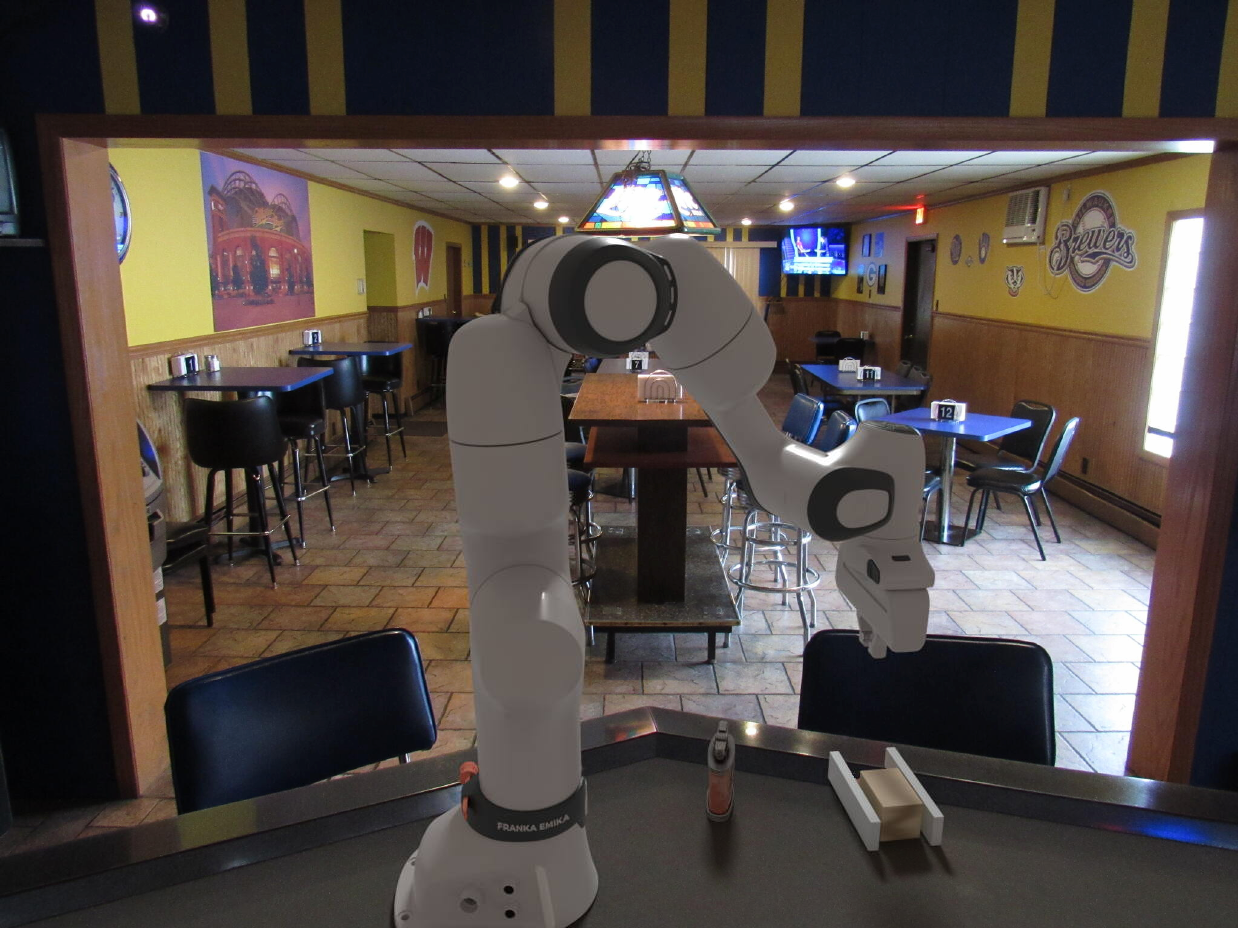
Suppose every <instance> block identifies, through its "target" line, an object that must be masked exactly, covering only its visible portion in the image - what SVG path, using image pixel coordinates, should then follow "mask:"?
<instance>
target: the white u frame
mask: <svg viewBox="0 0 1238 928" xmlns="http://www.w3.org/2000/svg"><path fill="white" fill-rule="evenodd" d="M884 754H885V755H884V765H883V767H884V766H885V768H886V769H889V768H898V769H899V771H900V772H901V773H902V775H903V776H904V777H905V779H906V780H907V782H908V783H909V784H910V786H911V787H912V789H913V790H914V791H915V793H916V794H917V796H918V797H919V798H920V800H921V801H922V803H923V810H922V820H921V829H920V832H921V833H922V834H923V836H924V837H925V839H926V840H927V841H928V844H929V845H930V847H934V846H941V844H942V838H943V837H942V836H943V828H944V819H945V815H943V813H942V812H941V810H940V809H939V807H938V806H937V805H936V804H935V802H934V800H933V799H932V798H931V796H930V795H929V793H928V792H927V791H926V789H925V788H924V787H923V785H922V783H921V782H920V781H919V779H918V778H917V777H916V775H915V774H914V772H913V771H912V769H911V768H910V767H909V765H908V764H907V763H906V761H905V760H904V759H903V756H901V754H900V752H899V751H898V749H897V748H896V747H895V746H893V747H886V748H885V753H884ZM852 774H853V773H852V771H851V770H850V768H849V767H848V764H847V762H845V759H844V758H843V756H842V755H841V753H840V751H839V750H837V751H835V750H834V751H829V759H828V772H827V778H828V780H829V782H830V784H831V785H832V787H833V789H834V791H835V793H836V795H837V796H838V798H839V800H840V802H841V804H842V806H843V807H844V809H845V812H846V814H847V815H848V816H849V819H850V820H851V822H852V824H853V826H854V828H855V829H856V831H857V833H858V834H859V837H860V839H861V840H862V842H863V844H864V845H865V847H866V849H867V851H868V852H873V851H879V844H880V840H879V835H880V824H881V821H880V820H879V818H878V816H877V815H876V813H875V811H874V810H873V808H872V806H871V805H870V803H869V801H868V800H867V798H866V796H865V795H864V793H863V791H862V790H861V788H860V786H859V785H858V783H857V781H856V780H855V778H854V776H853V775H852Z"/></svg>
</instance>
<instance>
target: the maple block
mask: <svg viewBox="0 0 1238 928" xmlns="http://www.w3.org/2000/svg"><path fill="white" fill-rule="evenodd" d="M859 773H860V778H859V786H860V788H861V790H862V791H863V793H864V795H865V796H866V798H867V800H868V801H869V803H870V805H871V806H872V808H873V810H874V811H875V813H876V815H877V816H878V818H879V820H880V821H881V824H880V835H879V843H880V842H889V841H900V840H910V839H911V840H912V839H920V838H921V830H920V829H921V820H922V810H923V803H922V801H921V800H920V798H919V797H918V796H917V794H916V793H915V791H914V790H913V789H912V787H911V786H910V784H909V783H908V782H907V780H906V779H905V777H904V776H903V775H902V773H901V772H900V771H899V769H898V768H889V769H884V768H880V769H869V770H860V771H859Z"/></svg>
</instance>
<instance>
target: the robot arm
mask: <svg viewBox="0 0 1238 928" xmlns="http://www.w3.org/2000/svg"><path fill="white" fill-rule="evenodd" d="M715 256H716V255H714V254H713V253H712V252H711V251H710V250H709V249H708V248H706V246H705V245H703V243H701V242H700V241H699V240H697V239H696V238H695V237H693V236H691V235H689V234H686V233H681V232H679V233H678V232H674V233H667V234H664V235H660V236H658V237H656V238H653V239H651V240H650V241H648V242H647V243H645V244H644V245H643V246H641V247H640V246H638V245H635V244H633V243H631V242H629V241H627V240H623V239H620V238H615V237H608V236H601V237H598V236H594V235H591V234H586V233H580V232H577V233H573V232H572V233H564V234H563V233H562V234H558V235H547V236H542V237H539V238H536V239H534V240H531V241H530V242H527V243H526V244H525V245H523V246H522V247H521V248H519V250H518V251H516V253H515V254H513V256H512V257H511V259H510V260H509V262H508V264H507V266H506V268H505V270H504V273H503V277H502V279H501V283H500V285H499V288H498V291H497V292H496V295H495V297H494V299H493V302H492V304H491V307H490V314H488V315H487V314H486V315H482V316H480V317H477V318H474V319H471V321H469V322H467V323H465V324H463V325H462V326H460V328H458V329H457V330H456V332H454V334H453V335H452V337H451V339H450V342H449V346H448V352H447V363H446V382H445V404H446V405H445V406H446V409H445V410H446V422H447V434H448V435H447V436H448V445H449V452H450V453H449V454H450V461H451V469H452V478H453V479H452V480H453V486H454V495H455V505H456V513H457V514H456V515H457V519H458V525H459V532H460V538H461V544H462V551H463V559H464V566H465V573H466V574H465V575H466V580H467V581H466V583H467V591H468V611H469V613H468V615H469V650H470V664H471V666H470V667H471V680H472V690H473V691H472V692H473V702H474V703H473V705H474V717H475V730H476V731H475V733H476V747H477V764H476V762H474V761H466V762H463V763H462V765H461V766H460V768H459V773H460V774H459V777H458V779H459V782H460V784H461V785H462V786H461V789H460V790H461V791H460V803H458V804H457V805H456V806H454V807H452V808H451V809H449V810H447V811H446V812H445V813H443V814H441V815H440V816H438V817H436V818H435V819H433V821H432V822H431V823H430V824H429V825H428V827H427V828H426V830H425V832H424V834H423V836H422V838H421V841H420V844H419V846H418V848H417V849H416V850H415V851H414V852H413V853H412V854H411V856H410V857H409V858H408V859H407V861H406V863H405V864H404V866H403V868H402V870H401V873H400V875H399V877H398V882H397V885H396V890H395V896H394V905H393V906H394V907H393V909H394V910H393V911H394V912H393V913H394V914H393V917H394V918H393V919H394V925H395V928H566V927H568V926H570V925H571V924H572V923H574V922H576V921H577V920H578V919H579V918H581V917H582V916H583V915H584V914H585V913H586V912H587V911H588V909H590V907H591V905H592V904H593V902H594V900H595V898H596V896H597V893H598V888H599V875H598V874H599V873H598V872H597V868H596V866H595V863H594V860H593V858H592V854H591V851H590V847H589V842H588V838H587V832H586V820H587V815H588V788H587V786H588V785H587V779H586V775H585V769H584V767H583V766H582V749H581V748H582V746H581V745H582V744H581V743H582V742H581V737H582V736H581V735H582V734H581V707H582V706H581V705H582V697H583V689H584V679H585V660H586V630H585V626H584V622H583V619H582V616H581V612H580V609H579V606H578V602H577V599H576V595H575V591H574V586H573V582H572V577H571V572H570V571H571V570H570V556H569V555H570V554H569V553H570V552H569V520H570V519H569V517H570V506H571V504H570V503H571V501H570V490H569V478H568V466H567V452H566V451H567V450H566V440H565V439H566V438H565V428H564V427H565V426H564V417H563V416H564V415H563V413H564V412H563V407H562V399H561V394H562V388H563V387H562V386H563V382H564V381H563V380H564V376H565V373H566V370H567V367H568V365H569V363H570V361H571V359H572V358H573V356H574V355H575V354H576V355H581V356H582V355H583V356H585V357H589V358H594V359H612V358H618V357H621V356H625V355H627V354H630V353H632V352H634V351H637V350H638V349H640V348H641V347H643V346H644V345H646V344H648V345H649V346H650V347H651V348H652V350H653V351H654V353H655V354H656V356H657V357H658V358H659V360H660V361H661V363H662V364H663V365H664V366H665V368H666V369H667V370H668V371H669V373H670V374H671V375H672V376H673V377H674V379H675V381H677V383H678V384H679V385H680V386H681V387H682V388H683V389H684V390H685V391H686V393H687V394H688V395H689V396H690V397H691V398H692V399H693V400H694V401H695V402H696V403H697V404H698V406H700V408H701V410H702V411H703V413H704V414H705V416H706V418H707V419H708V420H709V422H710V424H711V425H712V426H713V428H714V430H715V431H716V432H717V434H718V435H719V436H720V438H721V439H722V441H723V442H724V444H725V446H726V447H727V449H729V450H728V451H730V453H731V455H732V456H733V458H734V460H735V462H736V464H737V467H738V471H739V476H740V480H741V483H742V488H743V491H744V494H745V495H746V497H747V499H748V501H749V502H750V503H751V505H753V506H754V507H755V508H756V509H758V510H759V511H761V512H764V513H767V514H769V515H771V516H775V517H776V518H779V519H781V520H782V521H785V522H786V523H789V524H791V525H793V526H795V527H796V528H798V529H801V530H802V531H804V532H806V533H808V534H810V535H812V536H814V537H817V538H819V539H821V540H824V541H827V542H833V543H834V542H835V543H837V542H840V545H839V547H838V552H837V558H836V566H835V572H834V573H835V574H834V577H835V585H836V587H837V589H838V590H839V591H840V592H841V594H842V595H843V596H844V597H845V598H846V599H847V600H848V601H849V603H850V605H852V606H853V608H854V609H855V610H856V619H857V623H858V624H857V625H858V630H859V634H858V640H859V642H860V643H861V645H863V646H864V647H865V648H866V647H868V648H867V651H868V653H869V654H870V655H871V657H872V658H873V659H884V658H886V656H887V649H888V648H889V649H890V651H892V652H894V653H909V652H918V651H920V650H921V649H922V648H923V646H924V645H925V642H926V638H927V632H928V625H929V618H930V617H929V616H930V607H931V605H930V604H931V601H930V600H931V599H930V594H929V593H930V592H929V591H928V589H927V588H933V587H934V586H935V581H936V573H935V570H934V568H933V566H932V565H931V563H930V562H929V560H928V557H927V556H926V553H925V551H924V549H923V545H922V543H921V542H920V534H921V523H920V520H919V510H920V506H921V503H922V502H923V498H924V494H925V492H924V491H925V483H926V480H925V479H926V448H925V443H924V440H923V437H922V435H921V434H920V433H919V432H918V431H917V430H915V429H913V428H911V427H909V426H906V425H902V424H899V423H892V422H889V421H884V420H876V419H875V420H874V419H871V420H870V419H869V420H865V421H861V422H859V423H858V426H857V428H856V430H855V431H854V433H853V434H852V435H851V436H850V437H849V438H848V439H847V440H845V442H843V443H842V444H840V445H839V446H837V447H835V448H834V449H832V450H829V451H827V452H825V451H822V450H820V449H817V448H815V447H812V446H809V445H807V444H805V443H803V442H801V441H799V440H797V439H795V438H793V437H790V436H788V435H786V434H784V433H782V431H780V430H779V429H778V427H777V426H776V424H775V423H774V421H773V420H772V418H771V416H770V415H769V413H768V412H767V410H766V409H765V406H763V403H762V402H761V400H760V398H759V397H758V395H757V393H758V392H759V391H761V389H762V388H763V387H764V386H765V384H766V383H767V382H768V380H770V377H771V376H772V373H773V370H774V368H775V364H776V359H777V347H776V343H775V341H774V339H773V336H772V333H771V331H770V329H769V326H768V325H767V323H766V321H765V320H764V318H763V316H762V314H761V312H759V310H758V308H757V307H756V306H755V304H754V303H753V301H752V299H750V297H749V296H748V294H747V293H746V291H745V290H744V289H743V287H742V286H741V284H740V283H738V281H737V280H736V279H735V277H734V276H733V275H732V274H731V272H730V271H729V270H728V269H727V268H726V267H725V266H724V264H722V263H721V262H720V260H719V259H718V258H717V257H715ZM496 312H497V313H496ZM573 354H574V355H573ZM887 647H888V648H887Z"/></svg>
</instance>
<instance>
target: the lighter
mask: <svg viewBox="0 0 1238 928" xmlns="http://www.w3.org/2000/svg"><path fill="white" fill-rule="evenodd" d="M707 749H708V750H707V766H708V790H707V791H706V793H707V794H706V812H707V813H706V814H707V817H708V818H709V819H710V820H712V821H714V822H718V823H719V822H720V823H721V822H725V821H727V820H728V819H729V818H730V814H731V812H732V810H733V804H734V785H733V781H734V777H735V758H736V744H735V739H734V736H733V735H732V734H730V733H729V722H727V720H720V721H719V722H718V728H717V732H716V733H715V734H714V735H713V736H712V738H711V740H710V742H709V746H708V748H707Z"/></svg>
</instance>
